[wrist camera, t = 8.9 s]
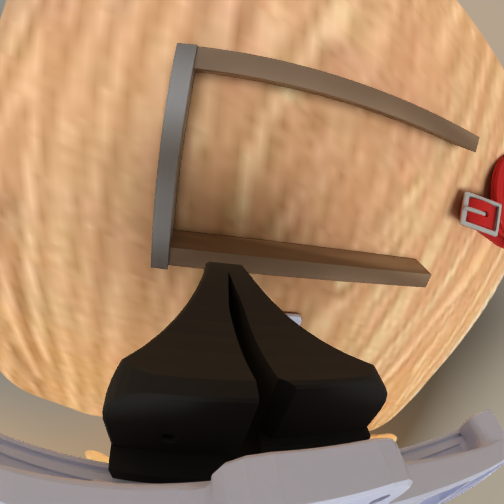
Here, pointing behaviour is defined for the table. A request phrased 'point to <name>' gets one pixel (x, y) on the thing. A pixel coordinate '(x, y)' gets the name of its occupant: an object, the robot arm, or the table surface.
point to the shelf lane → (261, 251)
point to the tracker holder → (487, 209)
